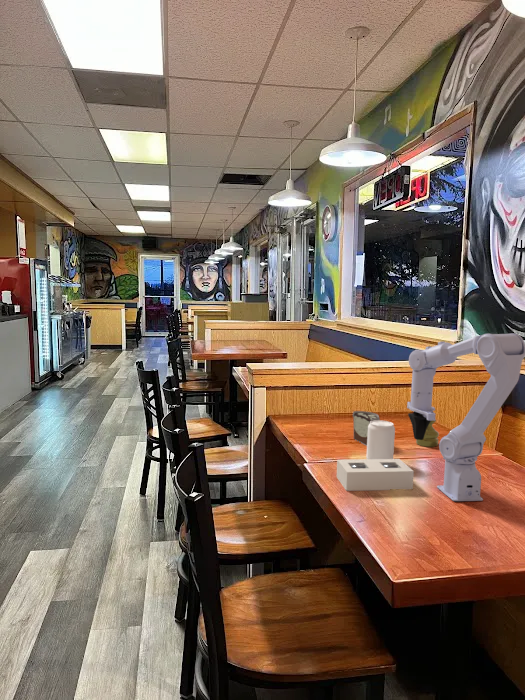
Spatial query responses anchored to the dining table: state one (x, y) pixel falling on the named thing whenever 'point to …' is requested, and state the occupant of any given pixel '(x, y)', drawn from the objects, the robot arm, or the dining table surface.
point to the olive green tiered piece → (429, 437)
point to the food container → (362, 424)
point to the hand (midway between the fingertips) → (418, 438)
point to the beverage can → (380, 440)
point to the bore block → (374, 475)
